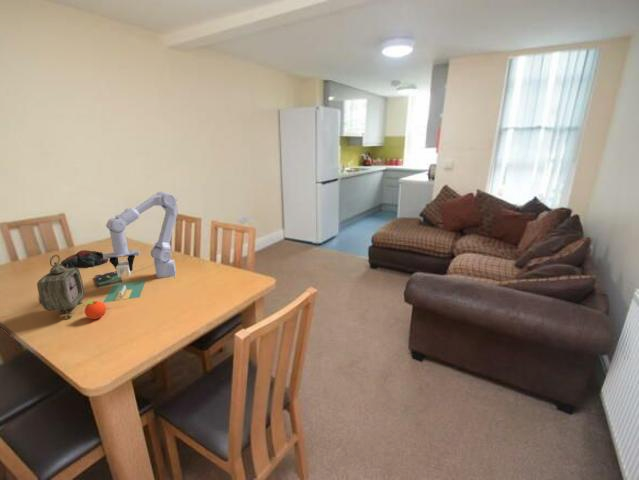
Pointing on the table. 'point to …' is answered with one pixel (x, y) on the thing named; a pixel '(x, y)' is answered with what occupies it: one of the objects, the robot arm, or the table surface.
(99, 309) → the clementine
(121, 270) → the block
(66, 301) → the tabletop clock
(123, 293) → the pin board
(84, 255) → the drone shell
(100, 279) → the disk drive
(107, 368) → the table surface
